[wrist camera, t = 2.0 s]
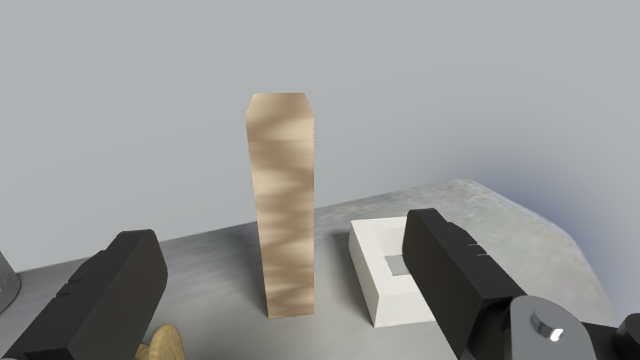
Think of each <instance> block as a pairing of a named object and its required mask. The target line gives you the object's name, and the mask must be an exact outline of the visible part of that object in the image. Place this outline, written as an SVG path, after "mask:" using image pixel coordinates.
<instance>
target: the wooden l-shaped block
mask: <svg viewBox="0 0 640 360" xmlns="http://www.w3.org/2000/svg"><path fill="white" fill-rule="evenodd" d="M245 120H246V128H247V136H248V145H249V153H250V162H251V171H252V179H253V188H254V197H255V205H256V214H257V222H258V231H259V239H260V248H261V257H262V265H263V274H264V282H265V291H266V299H267V308H268V317H269V319H271V318H280V317H289V316H298V315H307V314H314V115H313V113H312V110H311V108H310V105H309V103H308V101H307V98H306V96H305V94H304V93H266V94H265V93H264V94H263V93H262V94H254V96H253V98H252V101H251V103H250V106H249V109H248V112H247V114H246V117H245Z"/></svg>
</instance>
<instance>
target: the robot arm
mask: <svg viewBox="0 0 640 360" xmlns="http://www.w3.org/2000/svg"><path fill="white" fill-rule="evenodd" d="M402 256H403V260H404V263H405V265H406V267H407V269H408V271H409V272H410V274H411V276H412V278H413V280H414V281H415V283H416V285H417V287H418V289H419V290H420V292H421V294H422V296H423V298H424V299H425V301H426V303H427V305H428V307H429V309H430V310H431V312H432V314H433V316H434V318H435V319H436V321H437V323H438V325H439V327H440V328H441V330H442V332H443V334H444V336H445V337H446V339H447V341H448V343H449V345H450V346H451V348H452V350H453V352H454V354H455V355H456V357H457V359H458V360H640V313H635V314H631V315H629V316H627V318H625V320H624V321H623V322H622V324H621V325H620V326H619V328H614V327H608V326H603V325H597V324H591V323H585V322H580V321H579V320H578V319H577V318H576V317H575V316H573V315H572V314H571V313H570V312H568V311H567V310H566V309H564V308H563V307H561V306H559V305H557V304H555V303H553V302H551V301H549V300H546V299H544V298H540V297H536V296H528V295H527V294H526V293H525V292H524V291H523V290H522V289H521V288H520V287H519V286H518V285H517V284H516V283H515V281H514V280H513V279H512V278H511V277H510V276H509V275H508V274H507V273H506V272H505V271H504V270H503V269H502V268H501V267H500V266H499V265H498V264H497V263H496V262H495V261H494V260H493V259H492V257H491V256H490V255H487V252H486V251H485V250H484V249H483V248H482V247H481V246H480V245H478V244H477V242H476V241H475V240H474V239H473V238H472V237H471V236H470V235H469V234H468V232H467V231H465V230H463V229H462V228H460V227H459V226H457V225H455V224H454V223H452V222H447V221H446V220H445V219H444V218H443V217H442V216H441V215H440V214H439V213H438V211H437V210H436V209H434V208H428V209H415V210H410V211H409V212H408V215H407V220H406V226H405V231H404V237H403V243H402ZM167 277H168V272H167V266H166V263H165V260H164V258H163V255H162V252H161V249H160V246H159V243H158V240H157V237H156V235H155V233H154V231H152V230H151V229H147V230H136V231H135V230H134V231H123V232H120V233H119V234H118V235H117V236H116V238H115V239H114V240H113V242H112V243H111V244H110V245H109V246H108V248H107V249H106V250H102V251H100V252H98V253H97V254H96V255H94V256H93V257H91V258H90V259H89V260H87V261H86V262H84V263H83V264H82V265H81V266H80V267H79V268H78V269H77V271H76V272H75V273H74V274H73V275H72V276H71V278H70V279H69V280H68V284H65V285H64V286H63V287H62V288H61V289H60V290H59V292H58V293H57V294H56V298H53V299H52V300H51V301H50V302H49V303H48V304H47V306H46V307H45V308H44V309H43V310H42V311H41V313H40V314H39V315H38V316H37V317H36V318H35V320H34V321H33V322H32V323H31V324H30V325H29V327H28V328H27V329H26V330H25V331H24V332H23V334H22V335H21V336H20V337H19V338H18V339H17V341H16V342H15V343H14V344H13V345H12V346H11V348H10V349H9V350H8V351H7V352H6V353H5V355H4V356H3V357H2V358H1V359H0V360H133V359H134V357H135V355H136V353H137V351H138V348H139V346H140V344H141V342H142V339H143V337H144V335H145V333H146V330H147V328H148V326H149V324H150V321H151V319H152V317H153V315H154V312H155V310H156V308H157V306H158V303H159V301H160V299H161V297H162V294H163V292H164V290H165V288H166V284H167ZM20 284H21V283H20V280H19V278H18V276H17V275H16V273H15V272H14V271H13V269H12V268H11V266H10V265H9V263H8V262H7V260H6V259H5V258H4V256H3V255H2V253H1V252H0V313H1V312H2V311H3V310H4V309H5V308H6V307H7V306H8V305H9V304H10V303H11V302H12V300H13V299H14V298H15V297H16V295H17V293H18V291H19V289H20Z"/></svg>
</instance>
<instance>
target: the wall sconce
mask: <svg viewBox="0 0 640 360" xmlns="http://www.w3.org/2000/svg"><path fill="white" fill-rule="evenodd" d="M134 358H136V359H137V360H185V357H184V351H183V346H182V342H181V339H180V336H179V333H178V331H177V329H176V328H175V326H174V325H172V324H166V325H163V326H161V327H160V328H159V329H157V331H156V332H155V334H154V336H153V338H152V340H151V342H150V346H147V345H145V344H142V343H141V344H140V346H139V348H138V351H137V353H136V355H135V357H134Z"/></svg>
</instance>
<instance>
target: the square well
mask: <svg viewBox="0 0 640 360" xmlns="http://www.w3.org/2000/svg"><path fill="white" fill-rule="evenodd" d="M406 220H407V217H394V218H381V219H367V220H353V221H351V222H350V236H349V251H350V255H351V258H352V261H353V264H354V267H355V270H356V273H357V276H358V279H359V282H360V285H361V289H362V292H363V295H364V298H365V301H366V304H367V307H368V310H369V313H370V316H371V319H372V322H373V326H374V328H377V327H385V326H393V325H401V324H410V323H418V322H426V321H435V320H436V319H435V318H434V316H433V314H432V312H431V310H430V309H429V307H428V305H427V303H426V301H425V299H424V298H423V296H422V294H421V292H420V290H419V289H418V287H417V285H416V283H415V281H414V280H413V278H412V276H411V274H410V275H400V276H393V275H392V273H391V271H390V269H389V267H388V264H387V262H386V260H385V258H384V257H385V256H396V255H402V243H403V237H404V231H405V226H406Z"/></svg>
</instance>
